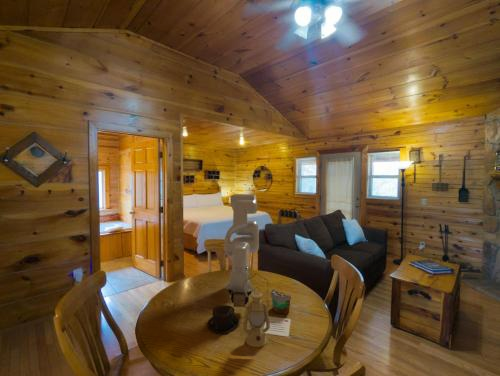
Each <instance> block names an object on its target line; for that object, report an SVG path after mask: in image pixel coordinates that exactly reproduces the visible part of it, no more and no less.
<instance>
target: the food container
mask: <svg viewBox="0 0 500 376" xmlns="http://www.w3.org/2000/svg"><path fill="white" fill-rule="evenodd" d="M274 289H275V288H272V289H271V291H270V297H271V303H272V311H273V312H274V314H277V315H287V314H289V313H290V307H291V300H292V296H291V294H289V295H288V294H285V293H283V292H280V291H276V290H274Z"/></svg>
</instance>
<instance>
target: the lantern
mask: <svg viewBox="0 0 500 376" xmlns="http://www.w3.org/2000/svg"><path fill="white" fill-rule="evenodd" d="M256 274H257V275H258V276H259V278H262V279H264V280H266V283H267V285H269V281H268V280H267V279H266V278H265V277H263V276H261V275H260V274H259V273H258V272H257V273H255V274H254V275H253V276H251V277H249V279H250V280H251V279H253V278H255V276H256ZM247 280H248V279H247ZM244 282H245V281H244ZM243 286H244V284H243ZM256 288H257V289H259V287H258V286H256V287H255V288H254V291H253V292H252V293H251V294H250V295H249V296H250V297H251V298H252V299H251V302H250V303H249V302H248V303H247V304H246V306H245V307H244V308H245V313H244V316H243V317H244V318H243V325H242V329H243V332H244V333H246V334H247V336H246V339H245V342H246V344H247V345H248V346H250V347H252V348H261V347H263V346H265V345H266V344H267V342H268V339H267V337H266V334H265V332H267V331H268V330H269V328H270V322H269V310H268V306H269V305H270V304H269V303H270V302H269V300H268V298H266V300H267V303H266V302H263V301H262V299H261V298H262V297H263V296H264V295H263V293H262V292H260V291H255V289H256ZM268 291H269V290H267V291H266V293H268ZM243 292H244V290H243ZM244 294H245V293H244ZM245 302H246V296H245ZM248 321H249V326H250V327H251V328H250V329H248ZM265 322H266V328H264V325H265ZM263 328H264V329H263Z"/></svg>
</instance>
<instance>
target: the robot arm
mask: <svg viewBox="0 0 500 376" xmlns="http://www.w3.org/2000/svg"><path fill="white" fill-rule="evenodd" d="M229 201H230V206H231V209H232V213H233V215H232V220H233V221H232V225H231V226H230V227H229V229H228V230H227V231H226V234H225V238H224V254H225V255H226V256H230V257H232V270H231V273H230V279H229V280H230V281H229V283H228V284H227V285H225V289H226V290H227V292H228V293H229V295H230V301H231V303H232V304H233V295H234V291H240V292H243V290H244V293H245V295H246V302H245V306H247V305H248V303H249V301H250V300H249V297H250V296H251V295H250V294H251V293H253V292H254V291H255V290H254V289H255V288H254V286H252V284H251V281H250V280H251V278H250V274H249V271H250V267H248V266H249V265H248V264H249V263H248V262H249V260H248V255H249V253H257V252H258V251H259V244H260V243H259V240H260V239H259V237H260V236H259V224H258V222H257V221H256V220H248V215H254V214H255V215H256V214H257V211H258V200H257V195H256V194H253V193H251V194H250V193H248V194H247V193H246V194H245V193H243V194H242V193H238V194H237V193H236V194H232V195H231V196H230V198H229ZM234 234H235V235H236V236H239V237H235V238H233V239H232V241H230V240H231V237H232V235H234ZM243 236H244V237H243ZM245 236H248V237H245ZM249 236H250V237H249ZM249 278H250V279H249ZM247 279H248V280H247ZM244 281H245V282H244ZM243 284H244V286H243Z"/></svg>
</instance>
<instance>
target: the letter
mask: <svg viewBox="0 0 500 376" xmlns="http://www.w3.org/2000/svg"><path fill="white" fill-rule="evenodd" d="M269 322H270V328H269V330H268V331H267V332H265V335H272V336H278V337H279V336H280V337H284V338H289V336H290V327H291V323H292V322H291V318H284V317H276V316H269ZM264 328H266V321H265V322H264V324H263V327H262V329H264Z"/></svg>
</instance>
